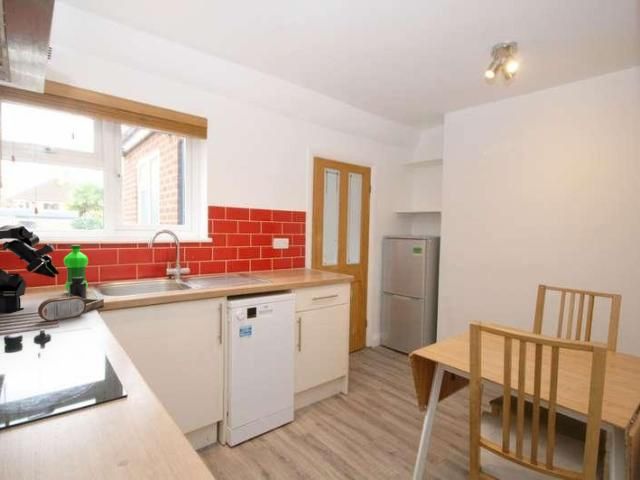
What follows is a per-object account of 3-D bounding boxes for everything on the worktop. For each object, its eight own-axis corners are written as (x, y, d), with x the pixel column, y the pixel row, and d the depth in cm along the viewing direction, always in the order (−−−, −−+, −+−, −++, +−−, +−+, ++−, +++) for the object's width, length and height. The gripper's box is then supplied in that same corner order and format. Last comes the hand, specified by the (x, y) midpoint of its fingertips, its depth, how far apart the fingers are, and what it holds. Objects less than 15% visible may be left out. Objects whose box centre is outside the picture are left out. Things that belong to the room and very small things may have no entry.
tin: (84, 314, 137) (84, 294, 137) (87, 315, 135) (87, 295, 135) (37, 322, 126) (37, 300, 125) (39, 323, 124) (39, 301, 123)
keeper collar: (82, 313, 138) (82, 306, 138) (54, 312, 139) (54, 305, 139) (103, 305, 151) (103, 299, 150) (77, 304, 151) (77, 298, 151)
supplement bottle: (65, 304, 151) (65, 278, 150) (72, 301, 157) (72, 276, 157) (83, 304, 153) (82, 278, 152) (89, 300, 159) (89, 275, 159)
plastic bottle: (86, 293, 172) (85, 245, 171) (61, 295, 168) (60, 246, 167) (90, 290, 181) (90, 244, 180) (67, 291, 177) (66, 244, 176)
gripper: (35, 239, 139) (68, 264, 145) (45, 237, 155) (75, 260, 161) (11, 259, 136) (46, 284, 142) (23, 254, 152) (54, 277, 158)
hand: (56, 275), depth 151 cm, fingers open, 9 cm apart
